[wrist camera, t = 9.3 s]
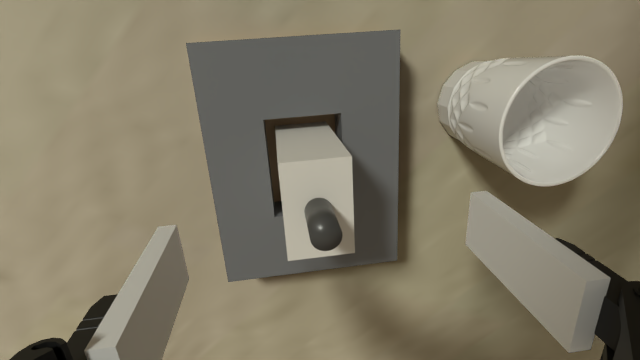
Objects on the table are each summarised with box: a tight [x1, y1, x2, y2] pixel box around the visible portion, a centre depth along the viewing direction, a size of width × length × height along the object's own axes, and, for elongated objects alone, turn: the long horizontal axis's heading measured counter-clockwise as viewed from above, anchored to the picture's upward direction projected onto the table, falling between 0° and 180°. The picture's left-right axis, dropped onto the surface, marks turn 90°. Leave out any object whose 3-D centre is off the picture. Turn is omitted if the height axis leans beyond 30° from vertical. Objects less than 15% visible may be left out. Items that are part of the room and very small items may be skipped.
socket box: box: [186, 30, 400, 282], centre depth 29 cm, size 18×14×4 cm
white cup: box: [437, 55, 623, 187], centre depth 26 cm, size 8×8×10 cm
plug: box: [275, 121, 355, 261], centre depth 24 cm, size 6×4×13 cm, turn 4°
